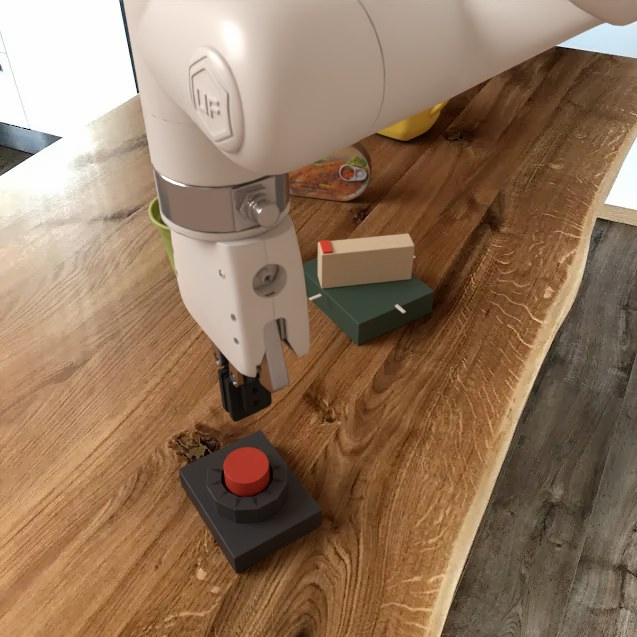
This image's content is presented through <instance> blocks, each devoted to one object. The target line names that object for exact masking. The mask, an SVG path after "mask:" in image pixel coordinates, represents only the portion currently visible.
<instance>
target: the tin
mask: <svg viewBox="0 0 637 637" xmlns="http://www.w3.org/2000/svg"><path fill="white" fill-rule="evenodd" d="M372 173H373V163H372V158H371V155H370V153H369V151H368V150H367V149H366V148H365V146H364V145H363V144H361V143H360V141H359V142H357V143H355V144H352V145H350V146H348V147H346V148H344V149H342V150H340V151H338V152H335V153H333V154H331V155H329V156H327V157H325V158H323V159H320V160H318V161H316V162H314V163H312V164H309V165H307V166H305V167H302V168H300V169H297V170H295V171H292V172H289V179H290V196H292V197H302V198H310V199H319V200H326V201H334V202H349V201H352V200H355V199H357V198H358V197H360V196H361V195H363V193H365V191H366V190H367V188H368V186H369V184H370V182H371V181H370V180H371V177H372Z"/></svg>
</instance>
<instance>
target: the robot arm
mask: <svg viewBox="0 0 637 637" xmlns="http://www.w3.org/2000/svg"><path fill="white" fill-rule="evenodd" d="M122 1H123V8H124V13H125V19H126V24H127V31H128V35H129V42H130V47H131V52H132V53H131V54H132V58H133V65H134V70H135V75H136V81H137V87H138V92H139V99H140V104H141V110H142V115H143V122H144V127H145V128H144V129H145V133H146V139H147V144H148V150H149V155H150V161H151V167H152V173H153V178H154V179H153V180H154V184H155V190H156V197H157V196H158V202H159V208H160V214H161V217H162V220H163V222H164V223H165V224H166V225H167V226H168V228H170V230H171V239H172V248H173V256H174V263H175V270H176V276H177V277H176V276H175V277H176V280H177V285H178V290H179V293H180V297H181V300H182V302H183V304H184V306H185V308H186V310H187V311H188V313H189V314H190V316H191V317H192V318H193V320H194V321H195V322H196V324H198V325H199V327H200V328H201V330H202V331H203V333H205V335H207V337H208V338H209V341H210V346H211V350H212V355H213V359H214V361H215V363H216V365H217V366H218V367H219V369H218V370H217V375H218V383H219V390H220V397H221V404H222V405H221V406H222V408H223V409H224V410H225V412H226V413H228V414H229V415H228V416H229V417H230V419H231V420H232V421H233V423H235V422H236V423H237V422H240V421H242V420H244V419H246V418H249V417H250V416H252V415H255V414H257V413H259V412H261V411H263V410H265V409H267V408H269V407H270V406H271V405H272V402H273V400H272V399H273V398H272V395H273V394H274V393H275V394H276V393H277V392H279V391H280V390H284V389H285V388H287V387H290V385H291V383H290V377H289V373H288V367H287V362H286V356H285V351H284V346H283V343H284V345H286V347H288V349H289V350H290V351H291V352H292V353H293V354H294V355H295V356H296V357H297V358H298V359H299V358H302V357H303V356H306V355H307V354H308V353H309V351H310V347H311V332H310V331H311V328H310V317H309V304H308V296H307V294H306V286H305V278H304V271H303V265H302V263H303V260H302V255H301V248H300V246H299V240H298V236H297V232H296V229H295V225H294V221H293V220H292V218H291V217H290V216H289V212H290V209H291V195H290V179H289V172H292V171H295V170H297V169H300V168H302V167H305V166H307V165H309V164H312V163H314V162H316V161H318V160H320V159H323V158H325V157H327V156H329V155H331V154H333V153H335V152H338V151H340V150H342V149H344V148H346V147H348V146H350V145H352V144H355V143H357V142H359V143H360V142H361V140H364V139H366V138H368V137H370V136H372V135H375V134H377V133H376V132H379V131H381V130H383V129H385V128H387V127H389V126H391V125H394V124H396V123H398V122H400V121H402V120H404V119H407V118H409V117H411V116H414V115H416V114H418V113H421V112H423V111H425V110H427V109H430V108H432V107H434V106H436V105H438V104H440V103H442V102H444V101H446V100H448V99H449V100H451V99H452V98H454V97H456V96H458V95H460V94H462V93H465V92H466V91H468V90H470V89H472V88H474V87H476V86H478V85H480V84H481V83H484V82H486V81H488V80H490V79H492V78H494V77H496V76H498V75H500V74H502V73H503V72H506V71H508V70H510V69H513V68H514V67H516V66H518V65H520V64H522V63H524V62H526V61H528V60H530V59H533V58H534V57H536V56H538V55H540V54H542V53H544V52H546V51H548V50H551V49H552V48H554V47H557V46H558V45H560V44H562V43H565V42H566V41H570V40H571V39H573V38H575V37H577V36H580V35H581V34H584V33H585V32H587V31H590V30H591V29H594V28H596V27H599V26H600V25H603V24H608V25H610V26H615V27H625V26H629V25H631V24H634V23H636V22H637V0H122Z"/></svg>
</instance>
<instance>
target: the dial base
mask: <svg viewBox="0 0 637 637" xmlns="http://www.w3.org/2000/svg"><path fill="white" fill-rule="evenodd" d="M414 259H416V255H414V257H413V260H414ZM302 265H303V271H304V278H305V286H306V294H307V298H308V300H309V301H310V302H313V303H314V304H315V305H316V306H317V307H318V308H319V309H320V310H321V311H322V312H323V313H324V314H325V315H326V316H327V317H328V318H329V319H330V320H331V321H332V322H333V323H334V324H335V325H336V326H337V327H338V328H339V329H340V330H341V331H342V332H343V333H344V334H346V336H347V337H348V338H349V339H351V341H353V342H354V344H356V346H360V345H362V344H365V343H367V342H369V341H371V340H374V339H376V338H378V337H380V336H382V335H385V334H387V333H389V332H391V331H393V330H396V329H397V328H398V329H399V328H400V327H402V326H405V325H407V324H408V323H411V322H413V321H416V320H418V319H420V318H423V317H424V316H427V315H429V314H431V313H432V310H433V304H434V297H435V291H434V290H433V289H432V288H431V287H430V286H428V285H427V284H426V283H425V282H423V281H422V280H421V279H420V278H419V277H417V276H416V275H415V274H414V273H412V275H411V279H408V280H399V281H389V282H380V283H370V284H361V285H351V286H342V287H332V288H323V289H322V288H321V285H320V282H319V278H318V257H315V258H313V259H310V260H307V261H305V262H302Z"/></svg>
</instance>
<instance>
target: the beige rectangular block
mask: <svg viewBox="0 0 637 637" xmlns="http://www.w3.org/2000/svg"><path fill="white" fill-rule="evenodd" d="M415 248H416V247H415V244H414V242H413V239H412V236H411V235H410V233H400V234H399V233H398V234H387V235H379V236H378V235H377V236H368V237H367V236H366V237H356V238H348V239H347V238H346V239H336V240H330V239H324V240H319V241H318V242H317V258H318V278H319V282H320V285H321V288H322V289H323V288H332V287H342V286H351V285H361V284H370V283H380V282H389V281H399V280H408V279H411V275H412V274H413V266H414V259H413V257H414V256H415Z"/></svg>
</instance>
